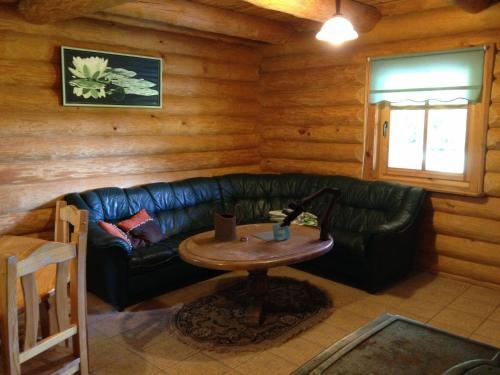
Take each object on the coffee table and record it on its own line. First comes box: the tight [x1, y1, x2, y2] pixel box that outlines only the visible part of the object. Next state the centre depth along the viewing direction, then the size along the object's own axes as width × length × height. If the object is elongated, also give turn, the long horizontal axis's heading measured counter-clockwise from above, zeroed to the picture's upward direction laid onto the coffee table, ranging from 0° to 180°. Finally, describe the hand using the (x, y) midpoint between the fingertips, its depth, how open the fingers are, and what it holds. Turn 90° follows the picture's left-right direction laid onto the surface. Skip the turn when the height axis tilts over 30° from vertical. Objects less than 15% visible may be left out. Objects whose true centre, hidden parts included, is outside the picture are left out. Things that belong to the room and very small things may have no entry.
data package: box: [271, 221, 291, 242], centre depth 322 cm, size 12×4×12 cm, turn 130°
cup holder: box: [212, 203, 244, 243], centre depth 326 cm, size 18×24×25 cm
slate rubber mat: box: [251, 230, 291, 242], centre depth 333 cm, size 22×20×1 cm
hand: (280, 226), depth 319 cm, fingers closed
